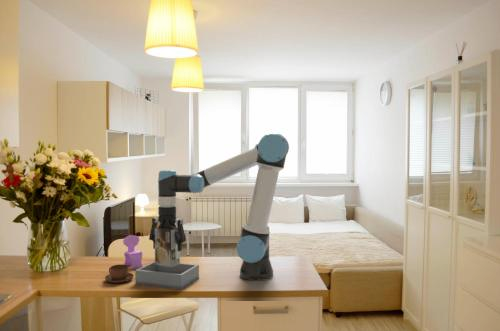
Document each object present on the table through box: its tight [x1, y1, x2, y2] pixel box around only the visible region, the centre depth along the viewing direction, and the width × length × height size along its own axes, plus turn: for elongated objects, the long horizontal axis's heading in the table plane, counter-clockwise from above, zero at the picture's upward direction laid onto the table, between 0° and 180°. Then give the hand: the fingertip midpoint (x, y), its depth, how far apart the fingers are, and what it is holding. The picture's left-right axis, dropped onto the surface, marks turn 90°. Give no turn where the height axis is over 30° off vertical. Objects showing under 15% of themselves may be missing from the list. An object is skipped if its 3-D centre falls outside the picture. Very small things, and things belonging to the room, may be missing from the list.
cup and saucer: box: [104, 264, 135, 284], centre depth 182 cm, size 12×12×6 cm
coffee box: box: [154, 226, 181, 267], centre depth 180 cm, size 9×6×16 cm
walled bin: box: [134, 260, 200, 290], centre depth 181 cm, size 22×16×6 cm
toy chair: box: [122, 234, 143, 270], centre depth 204 cm, size 8×9×15 cm
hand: (167, 257), depth 181 cm, fingers closed on coffee box, 9 cm apart
